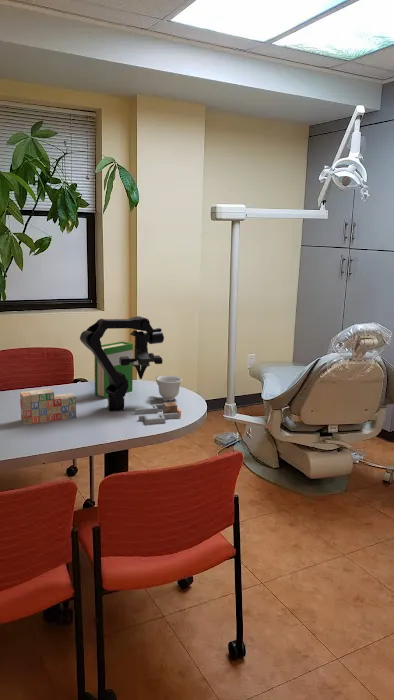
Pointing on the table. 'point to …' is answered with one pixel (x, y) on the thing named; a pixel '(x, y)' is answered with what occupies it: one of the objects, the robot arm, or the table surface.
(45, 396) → the stack of blocks
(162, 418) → the trap lane
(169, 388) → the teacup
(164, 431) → the table surface
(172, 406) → the walnut block
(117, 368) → the hardback book
